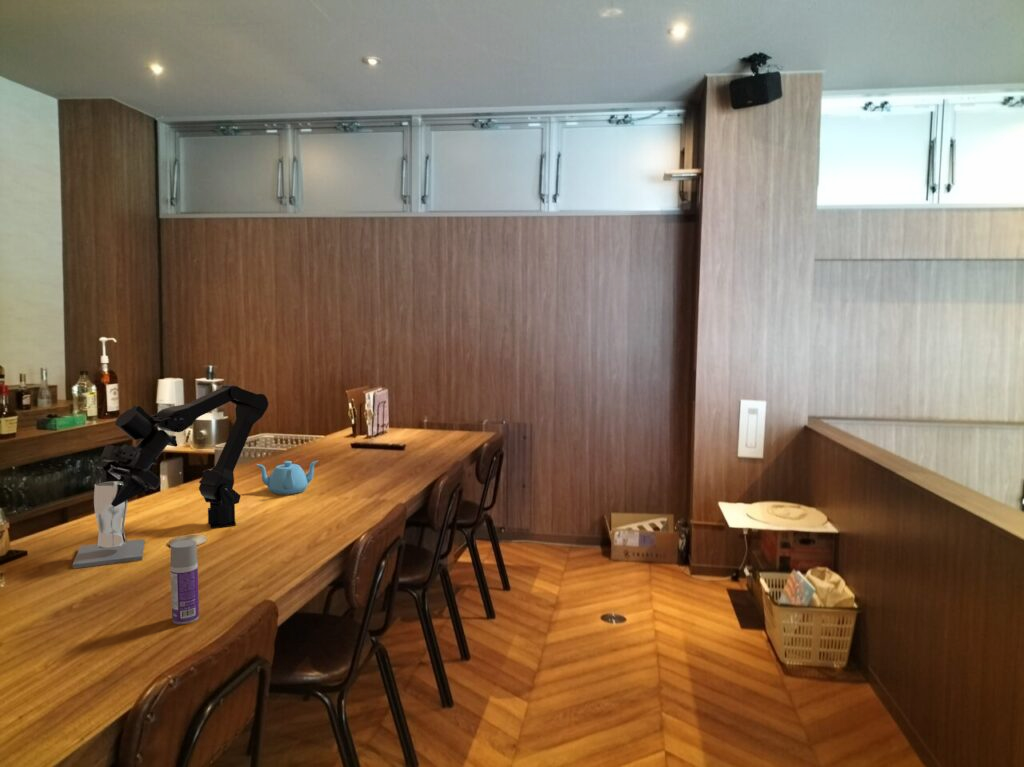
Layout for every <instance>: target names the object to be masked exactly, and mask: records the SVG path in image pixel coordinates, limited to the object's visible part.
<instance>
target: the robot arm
mask: <svg viewBox="0 0 1024 767" xmlns="http://www.w3.org/2000/svg"><path fill="white" fill-rule="evenodd" d="M228 403H231V404H233V405H235V408H234V409H235V417H236V418H235V422H234V423H233V426H232V428H231V430H230V433H229V434H228V437H227V439H226V442H225V443H224V446H223V448H222V450H221V453H220V455H219V457H218V459H217V461H216V464H215V466H214V467H212V468H211V469H205V470H204V472H203V474H202V477H201V479H200V480H199V481H198V484H199V486H198V490H199V493H200V495H201V497H203V499H204V501H205V503H209V507H208V508H207V524H208V525H209V526H210V529H214V528H215V529H216V528H223V527H233V526H236V525H237V523H236V512H235V511H236V510H235V505H236V504H239V502H240V499H241V497H242V496H241V494H240V493H238V492H237V491H236V490H235V489H234V485H235V474H234V471H235V467H236V466H237V463H238V462H239V459H240V458H241V454H242V452H243V449H244V447H245V445H246V443H247V440H248V438H249V436H250V433H251V431H252V429H253V426H254V425H255V424H256V423H257V422H258V421H259V420H261V418H263V416H264V415H265V413H266V412H267V409H268V407H269V403H270V402H269V400H268V397H267V396H266V394H263V393H258V392H257V393H256V392H252V391H249V390H246V389H243V388H241V387H239V386H237V385H232V384H224V385H222V386H221V387H219V388H217V389H215V390H214V391H210V392H209V393H207V394H205V395H203V396H200V397H198V398H196V399H194V400H192V401H190V402H188V403H185V404H180V405H179V404H178V405H173V406H169V407H166V408H162V409H161V410H159V411H158V412H157V413H156V414H153V415H149V414H148V413H147V412H146V411H145V410H144V409H143V407H141V406H140V405H135V404H134V405H133V406H132V407H131V408H129V409H127V410H125V411H124V412H123V413H120V414H119V416H118V417H117V418H116V420H115V423H114V425H115V426H116V427H117V428H119V429H120V430H121V431H122V432H124V433H125V435H127V436H129V438H131V439H132V440H134V441H136V440H140V441H139V442H138V443H137V444H136V446H132V445H129V444H123V445H122V446H116V445H111V444H105V446H104V448H103V452H102V454H101V458H104V459H102V460H100V461H99V463H98V464H97V465H96V468H97V469H99V470H100V473H101V474H102V475H101V476H102V481H101V482H108V481H124V485H123V486H122V488H121V489H120V491H119V492H118V494H117V495H116V497H115V498H114V500H113V502H112V503H111V505H112V506H114V507H116V506H118V505H119V504H121V503H123V502H125V501H127V502H128V500H130V499H132V498H133V497H136V496H137V495H140V494H142V493H144V492H147V491H149V489H150V490H151V489H152V490H157V489H158V488H159V486H161V485H160V484H161V477H160V476H158V475H157V474H156V473H154V472H153V471H152V470H151V469H150V468H151V466H152V465H157V464H158V463H159V460H158V458H159V456H160V455H161V454H162V453H163V451H164V450H165V449H166V447H167V446H171V447H174V448H175V447H178V442H177V436H176V435H172V434H168V432H174V433H181V432H184V431H185V430H187V429H188V428H189V427H191V426H192V425H193V424H194V423H195V421H196V420H197V419H198V418H200V417H201V416H203V415H206V414H207V413H209V412H212V411H214V410H215V409H218V408H219V407H221V406H224V405H225V404H228ZM157 427H158V428H159V429H158V428H157ZM106 458H107V459H106Z"/></svg>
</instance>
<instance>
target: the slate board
mask: <svg viewBox="0 0 1024 767" xmlns="http://www.w3.org/2000/svg"><path fill="white" fill-rule="evenodd" d="M145 542H146V540H145V538H140V539H138V538H137V539H131V540H130V539H129V540H126V544H124V545H122V546H118V547H113V548H99V547H97V543H95V544H87V545H80V546H79V549H78V551H77V553H76V556H75V558H74V560H73V563H72V569H74V570H75V569H76V570H77V569H82V568H84V569H85V568H90V567H99V565H100V566H106V564H108V565H113V564H115V563H116V564H121V563H122V564H123V562H124V563H129V561H132V562H137V560H140V561H143V558H144V552H143V551H144V550H145V545H144V544H146V543H145ZM116 564H115V565H116Z"/></svg>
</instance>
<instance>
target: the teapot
mask: <svg viewBox="0 0 1024 767" xmlns="http://www.w3.org/2000/svg"><path fill="white" fill-rule="evenodd" d="M292 462H293V461H291V460H285V461H283V464H279V465H276V466H275V468H274V469H273V471H272V472H271V474H270V476H268V475H267V469H266V467H265V465H263V464H258V463H256V466H257V467H259V468H260V472H261V480H262V483H263V484H264V485H265V486H267V489H268V490H269V491H270V492H271V494H275V495H280V496H281V495H282V496H284V495H285V496H286V495H295V494H300V493H303V492H304V491H305V490H306V489H307V488H308V487H309V483H310V482H311V483H312V481H313V478H314V475H315V474H314V473H315V472H314V471H315V469H314V468H315V466H316V464H317V463H318V462H319V460H315V461H312V462H311V463H310V465H309V469H308V470H309V471H308V473H307V474H306V472H305V471H304V469H303V468H302V467H301V465H300V464H296V463H292Z"/></svg>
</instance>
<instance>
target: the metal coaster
mask: <svg viewBox="0 0 1024 767" xmlns="http://www.w3.org/2000/svg"><path fill="white" fill-rule="evenodd" d="M182 540H194V541H196V545H198V546H201V545H203V543H204V544H205V543H207V541H208V538H207V536H206V535H202V534H188V535H187V534H186V535H181V536H177V537H174V538H171V539H169V541H168V546H169V545H170V546H171V544H172V543H174V542H177V541H182ZM170 546H169V547H170Z"/></svg>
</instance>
